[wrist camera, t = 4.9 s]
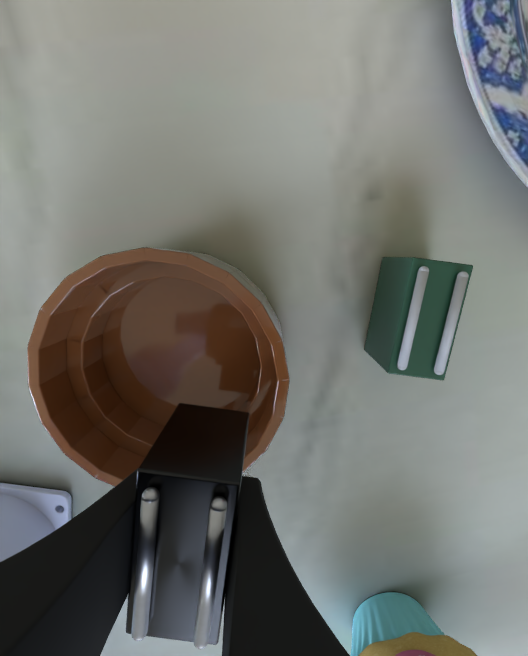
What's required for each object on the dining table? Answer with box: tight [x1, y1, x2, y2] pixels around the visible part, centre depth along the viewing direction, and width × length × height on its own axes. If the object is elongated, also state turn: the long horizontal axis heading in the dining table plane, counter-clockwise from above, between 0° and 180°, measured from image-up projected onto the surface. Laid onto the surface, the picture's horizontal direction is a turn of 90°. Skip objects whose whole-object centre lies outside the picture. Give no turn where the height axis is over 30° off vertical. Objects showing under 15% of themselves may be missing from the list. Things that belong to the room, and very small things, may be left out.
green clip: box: [364, 257, 473, 380], centre depth 16 cm, size 5×2×4 cm, turn 173°
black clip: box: [126, 403, 250, 649], centre depth 10 cm, size 5×2×4 cm, turn 172°
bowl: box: [27, 247, 289, 486], centre depth 16 cm, size 11×11×4 cm
